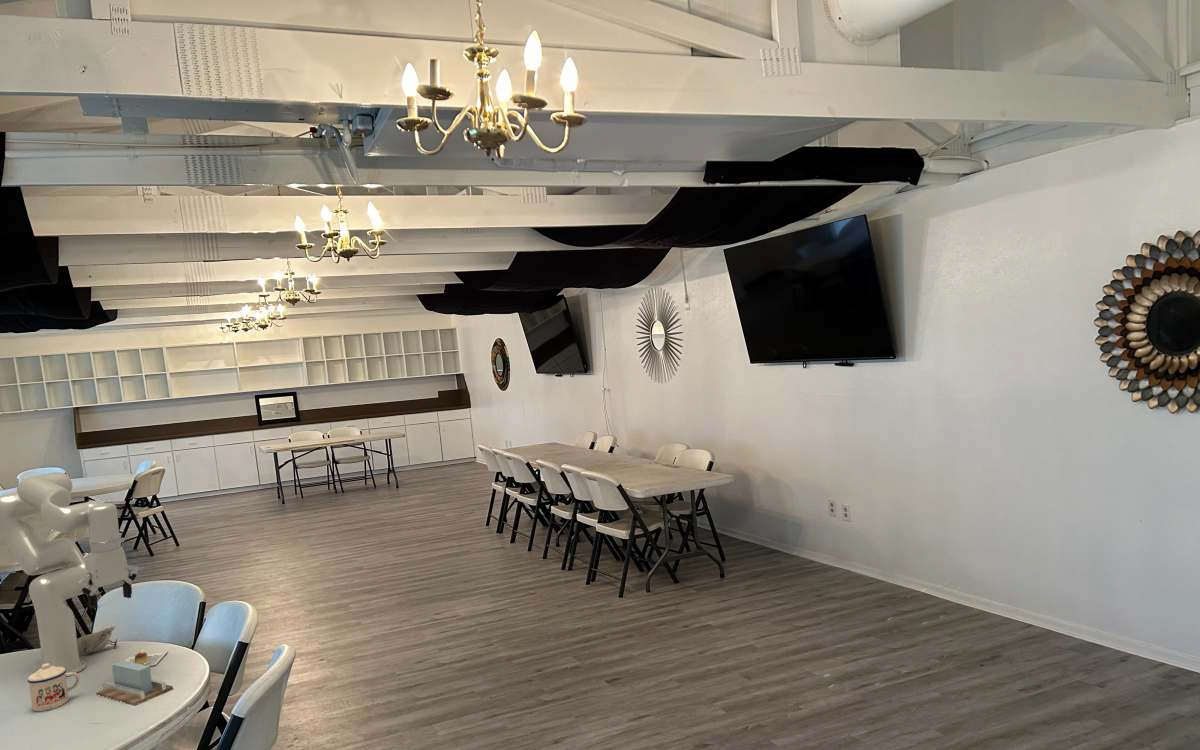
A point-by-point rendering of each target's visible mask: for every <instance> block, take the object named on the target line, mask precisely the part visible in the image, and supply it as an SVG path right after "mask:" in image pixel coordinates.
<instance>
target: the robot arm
mask: <svg viewBox="0 0 1200 750" xmlns="http://www.w3.org/2000/svg"><path fill="white" fill-rule="evenodd" d="M72 490H73V481H72V479H71V478H70V476H69V475H68V474H66V473H65V472H61V471H53V472H49V473H44V474H43V473H42V474H36V475H33V476H29V477H26V478H24V479H23V480H22V481H20V482H19V483H18V485H17V487H16V491H15V492H10V493H5V494H2V495H0V537H2V539H3V540H4V541H5V542H6V543H7V545H8V547H9V549H10V551H11V552H12V554H13V556H14V557H15V559H16V562H18V564H19V566H20V568H21V569H22V571H23V572H24V573H25V574H26V575H28V576H37V575H39V576H37V577H36V578H34V579H32V581H31V582H30V584H29V587H28V592H29V596H30V599H31V601H32V604H33V608H34V611H35V616H36V624H37V631H38V636H39V645H40V651H41V653H40V654H41V659H42V661H41V662H42V665H43V664H47V663H49V664H50V666H55V667H64V668H65V670H66V674H67V673H71V672H74V673H77V674H78V673H79V672H81V671H83V670H84V669H85V668H86V667H87V662H86V661H84V660H80V655H79V651H78V644H77V639H78V637H77V631H76V629H77V628H76V622H75V617H74V616H75V615H74V612H73V609H71V608H70V606H68V605H67V604H66V603H65V602H64V601H66V600H68V599H71V598H74V597H77V596H80V595H83V594H85V595H86V596H87V604H88V606H89V607H90V609H98V595H96V594H95V593H97V590H98V589H99V588H101V587H106V586H109V585H113V584H115V583H119V582H123V584H122V595H123V597H124V598H127V599H131V598H132V594H133V590H132V588H133V587H132V584H133V583H134V580H135V579H136V578H137V574H138V573H139V570H140V567H139V566H136V565H130V564H128V560H127V557H126V552H125V550H124V548H123V546H122V543H124V542H125V538H124V537H120V529H119V519H118V508H117V505H115V504H114V503H112V502H106V503H105V502H104V501H101V500H91V501H86V502H82V503H76V504H71V501H72V495H71V493H72ZM70 504H71V505H70ZM36 515H40V516H41V519H42V521H43V523H44V525H45V526H47V527H48V528H50V529H52V530H54V531H56V532H58V533H59V532H60V533H67V534H68V533H71V532H76V531H79V530H83V529H88V535H89V536H88V537H89V545H90V552H88V553H87V558H86V559H85V557H84V555H83V554H82V552H81V550H80V548H79V547H78V546H77V544H76V543H75V541H73V540H72V539H71V538H68V537H58V538H54V539H50V540H44V538H43V537H42V535H41V534H40V531H39V530H38V529H37V528H36V527H34V525H32V524H30V523H29V522H26V521H24V520H21V519H24V518H26V517H27V518H28V517H31V516H36ZM129 570H130V571H131V573H130V574H129Z"/></svg>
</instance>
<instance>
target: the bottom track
mask: <svg viewBox="0 0 1200 750" xmlns="http://www.w3.org/2000/svg"><path fill="white" fill-rule="evenodd" d="M151 681H152V689H153V691H151V692H148V693H146V694H144V691H142V690H138V689H134V688H130V687H126V686H122V685H118V684H115V683H114V682H110V681H103V682H102V689H100V690H98V691H96V692H95V695H96V694H97V695H96V696H98V695H100V696H99V697H101V696H104V697H103V698H105V697H108V698H107V699H109V698H111V699H110V700H112V699H115V700H114V701H116V700H118V701H117V702H120V701H122V702H121V703H123V702H125V703H124V704H127V703H129V704H128V705H130V704H132V705H131V706H134V705H135V706H137V705H139V704H141V702H142V703H144V702H146V701H148V699H149V700H150V699H153V698H156V697H159V696H160V695H163V694H165V693H167V692H170V691H171V690H173V689H174V686H173V685H168V684H166V682H165V681H161V680H158V679H157V680H156V679H153V678H151ZM143 701H144V702H143ZM138 703H139V704H138ZM136 704H137V705H136Z"/></svg>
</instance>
